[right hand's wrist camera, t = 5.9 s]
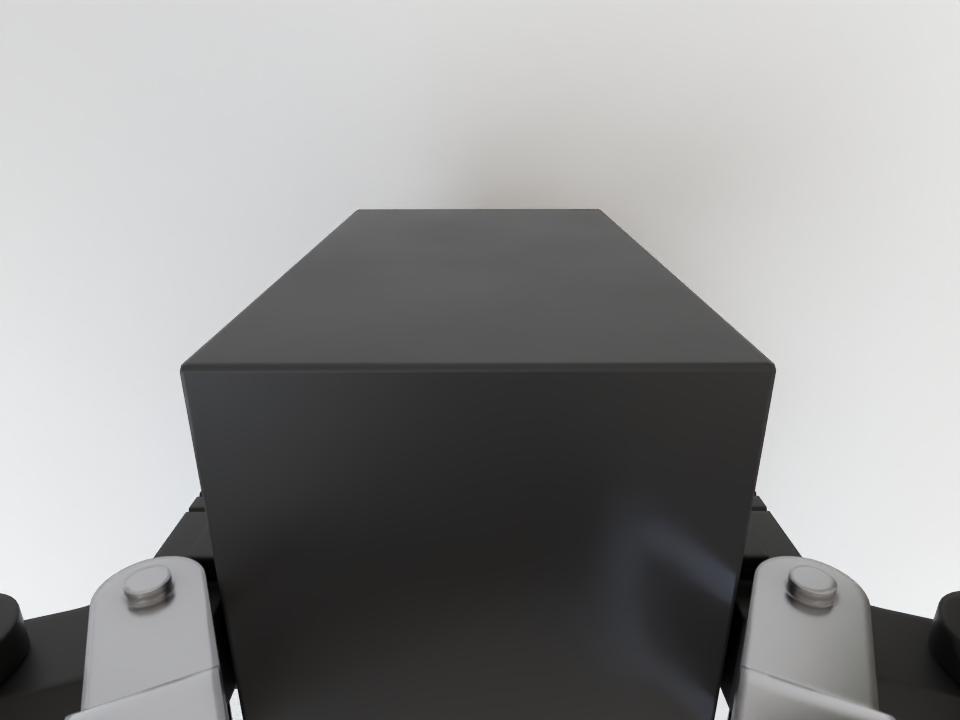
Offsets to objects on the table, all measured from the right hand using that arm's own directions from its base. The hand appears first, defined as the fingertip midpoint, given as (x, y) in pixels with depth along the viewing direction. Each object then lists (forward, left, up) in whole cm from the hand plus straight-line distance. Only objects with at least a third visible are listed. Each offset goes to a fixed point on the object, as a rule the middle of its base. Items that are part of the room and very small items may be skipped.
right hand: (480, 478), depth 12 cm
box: (+9, +2, -6) cm, 11 cm away
